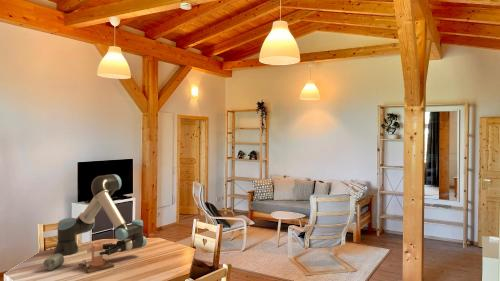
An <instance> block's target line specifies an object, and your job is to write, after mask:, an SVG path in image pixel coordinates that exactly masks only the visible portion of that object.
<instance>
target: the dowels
mask: <svg viewBox="0 0 500 281" xmlns="http://www.w3.org/2000/svg"><path fill="white" fill-rule="evenodd" d="M86 262H87V261H86V260H82V261H81V263H82V266H86V269H89V268H90V263H86Z"/></svg>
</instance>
